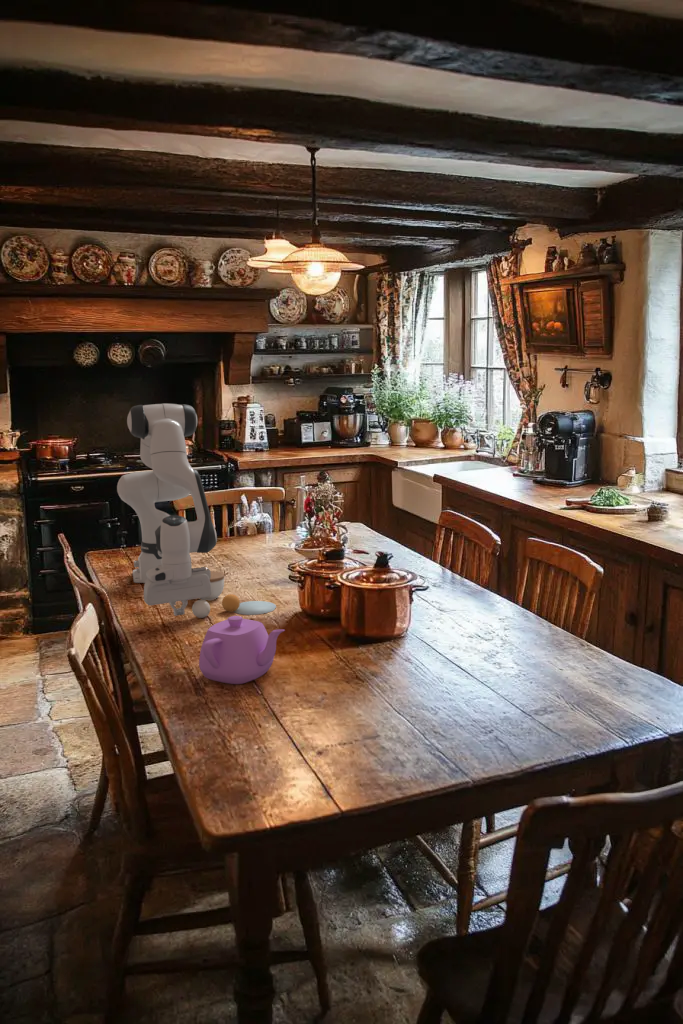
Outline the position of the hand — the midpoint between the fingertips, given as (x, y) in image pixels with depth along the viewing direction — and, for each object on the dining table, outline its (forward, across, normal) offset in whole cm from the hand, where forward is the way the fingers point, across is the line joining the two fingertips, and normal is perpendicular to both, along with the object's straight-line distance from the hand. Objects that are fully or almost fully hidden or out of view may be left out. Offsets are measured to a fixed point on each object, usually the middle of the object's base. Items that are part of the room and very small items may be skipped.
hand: (179, 614), depth 260 cm
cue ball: (-1, -7, +1) cm, 7 cm away
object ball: (-1, -16, 0) cm, 17 cm away
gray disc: (+2, -24, 0) cm, 24 cm away
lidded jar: (+2, -15, -18) cm, 24 cm away
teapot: (+2, -1, +51) cm, 51 cm away
